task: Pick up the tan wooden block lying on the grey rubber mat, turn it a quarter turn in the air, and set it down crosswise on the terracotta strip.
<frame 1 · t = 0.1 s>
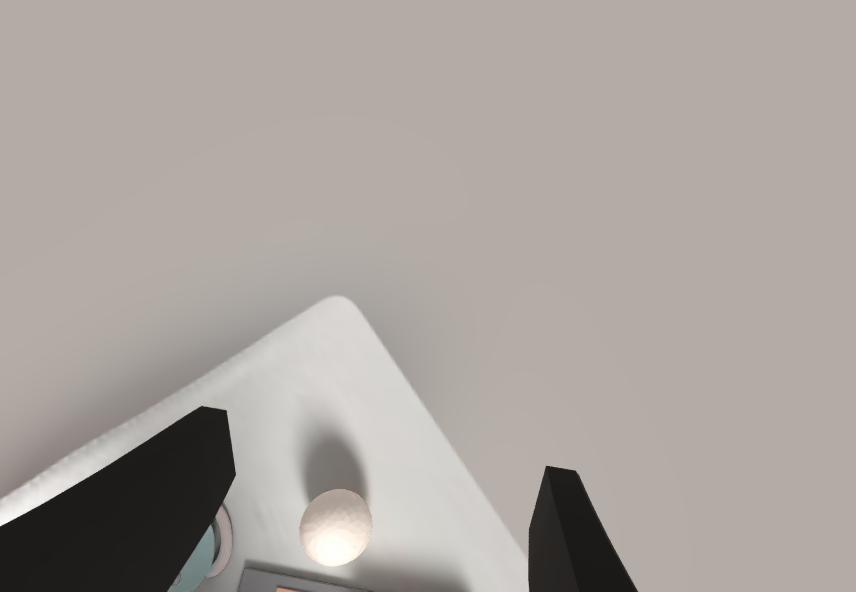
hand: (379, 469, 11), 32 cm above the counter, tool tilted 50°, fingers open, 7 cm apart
pacifier: (199, 539, 40), on the counter
egg: (347, 522, 40), on the counter
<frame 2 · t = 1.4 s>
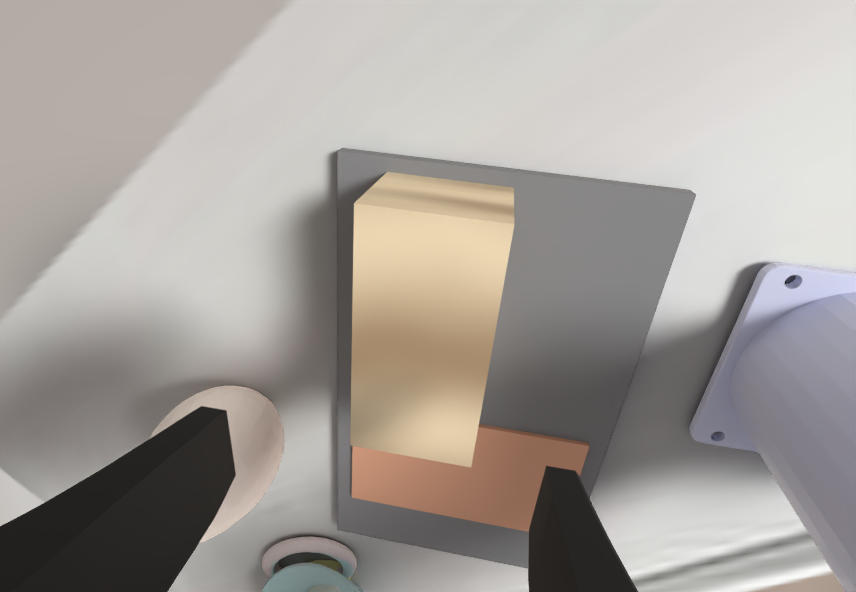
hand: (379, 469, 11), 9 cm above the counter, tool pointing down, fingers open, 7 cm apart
pacifier: (320, 561, 29), on the counter
tan wooden block: (437, 295, 19), point 1 cm above the counter, touching rubber mat
terracotta strip: (460, 470, 22), resting on rubber mat
egg: (256, 400, 24), on the counter
rubber mat: (472, 395, 21), on the counter
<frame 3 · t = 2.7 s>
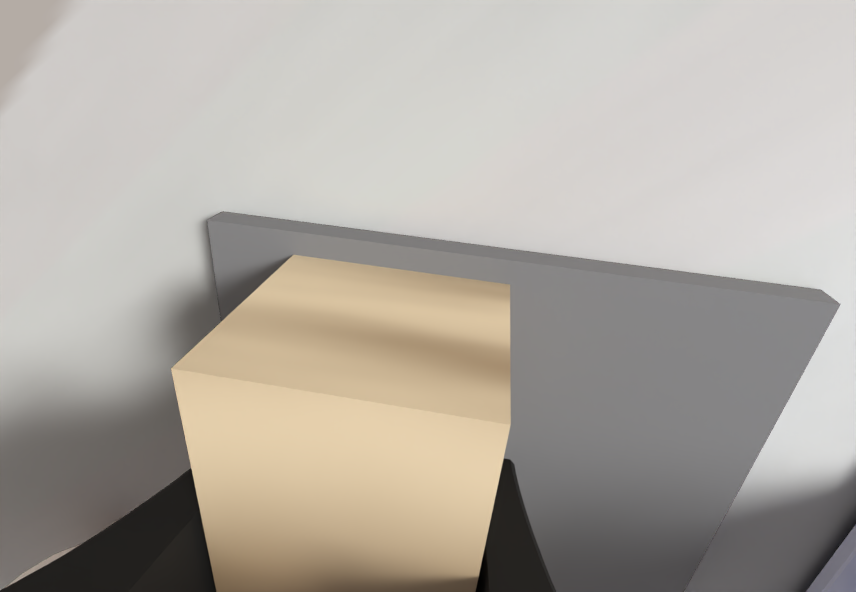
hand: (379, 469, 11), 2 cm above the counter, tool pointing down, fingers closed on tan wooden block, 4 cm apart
tan wooden block: (389, 438, 12), point 1 cm above the counter, touching gripper, rubber mat
egg: (148, 545, 17), on the counter
rubber mat: (452, 560, 14), on the counter
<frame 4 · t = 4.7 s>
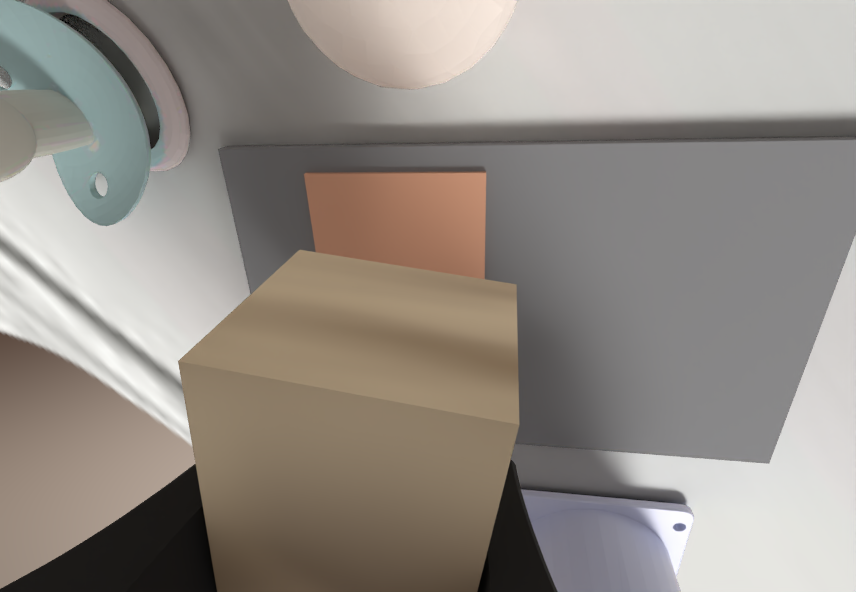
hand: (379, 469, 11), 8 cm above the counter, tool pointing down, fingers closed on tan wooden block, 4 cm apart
pacifier: (111, 97, 17), on the counter
tan wooden block: (390, 435, 12), point 7 cm above the counter, touching gripper
terracotta strip: (403, 312, 18), resting on rubber mat
rubber mat: (511, 309, 18), on the counter
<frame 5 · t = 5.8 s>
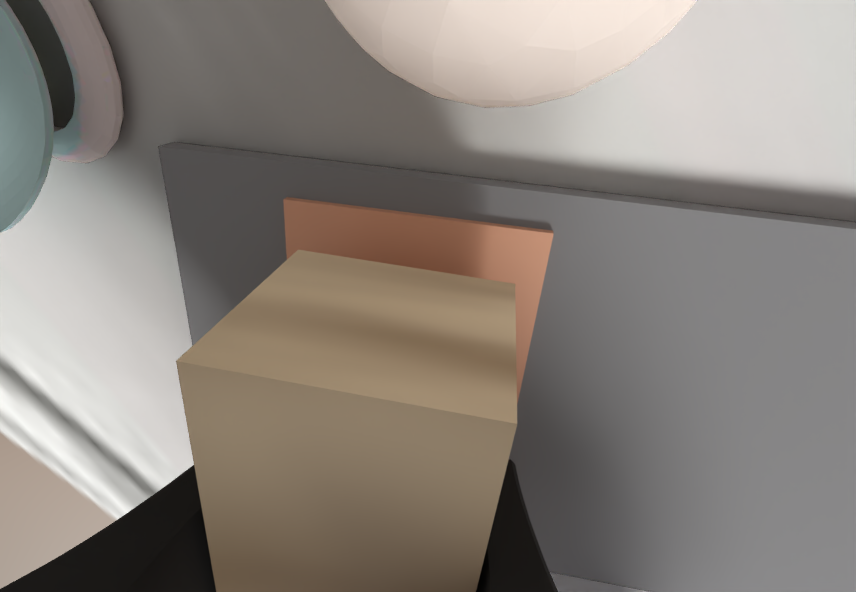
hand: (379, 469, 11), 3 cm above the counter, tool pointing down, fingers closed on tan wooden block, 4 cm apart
pacifier: (10, 43, 11), on the counter
tan wooden block: (389, 435, 12), point 2 cm above the counter, touching gripper
terracotta strip: (402, 397, 13), resting on rubber mat
rubber mat: (549, 407, 13), on the counter
when the fingers open (3 cm above the counter, at t = 6.7 s): tan wooden block stays where it is, resting on terracotta strip.
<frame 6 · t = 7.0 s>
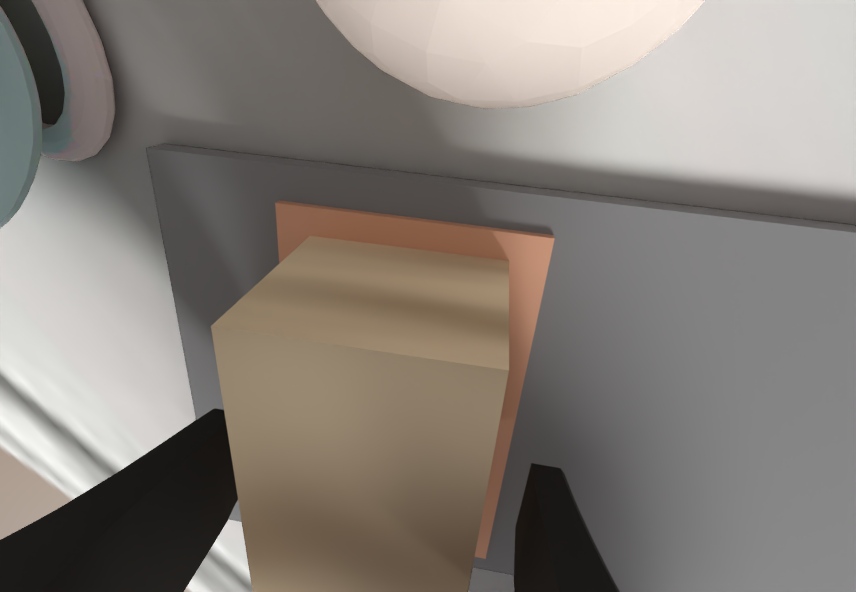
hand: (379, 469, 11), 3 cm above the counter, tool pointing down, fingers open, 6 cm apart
tan wooden block: (398, 408, 12), point 1 cm above the counter, touching terracotta strip
terracotta strip: (399, 405, 13), resting on rubber mat
rubber mat: (550, 415, 13), on the counter
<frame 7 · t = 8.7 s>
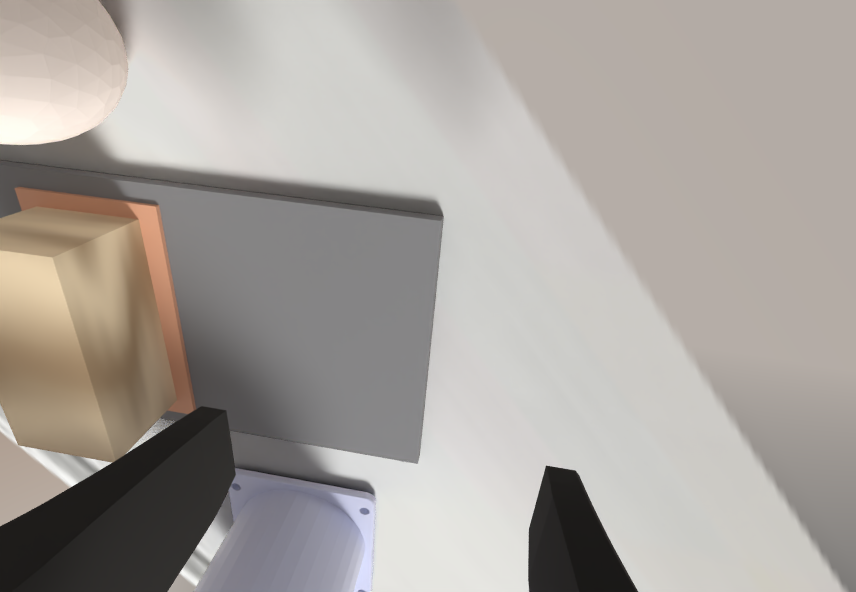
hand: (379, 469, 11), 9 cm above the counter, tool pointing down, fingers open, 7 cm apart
tan wooden block: (113, 311, 21), point 1 cm above the counter, touching terracotta strip
terracotta strip: (116, 310, 21), resting on rubber mat
egg: (102, 49, 17), on the counter
rubber mat: (209, 317, 21), on the counter
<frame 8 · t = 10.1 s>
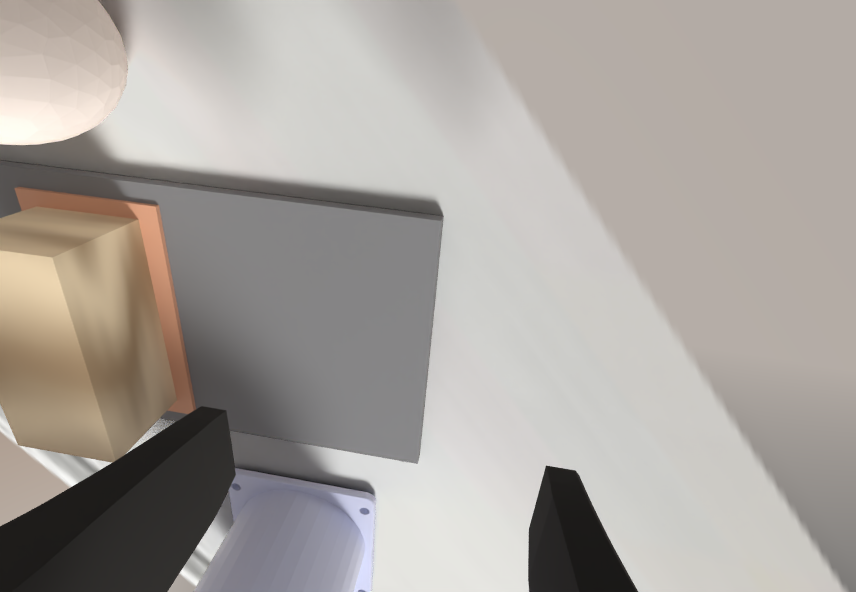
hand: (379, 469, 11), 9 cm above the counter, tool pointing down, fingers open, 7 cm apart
tan wooden block: (113, 311, 21), point 1 cm above the counter, touching terracotta strip
terracotta strip: (116, 310, 21), resting on rubber mat
egg: (102, 49, 17), on the counter
rubber mat: (209, 317, 21), on the counter
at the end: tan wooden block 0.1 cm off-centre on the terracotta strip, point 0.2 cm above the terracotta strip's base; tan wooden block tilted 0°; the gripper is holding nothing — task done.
